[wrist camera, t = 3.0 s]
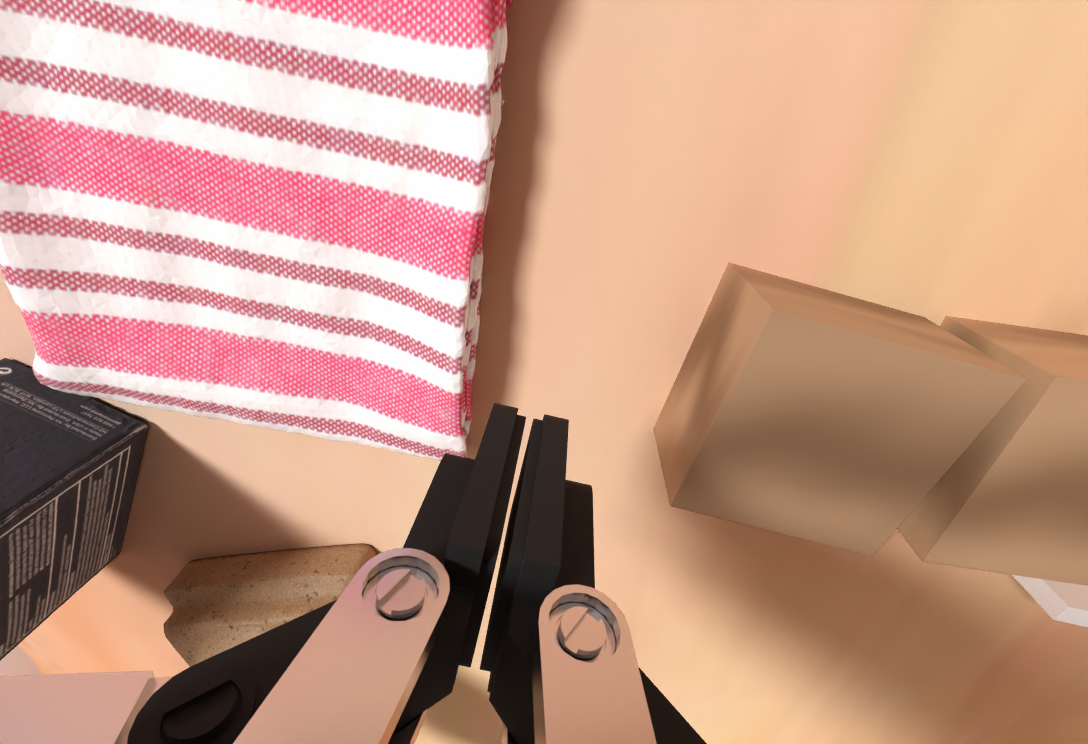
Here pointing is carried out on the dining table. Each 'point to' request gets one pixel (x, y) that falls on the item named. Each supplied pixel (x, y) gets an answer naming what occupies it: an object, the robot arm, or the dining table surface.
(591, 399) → the dining table surface
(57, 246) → the dish towel
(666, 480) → the tile
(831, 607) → the dining table surface
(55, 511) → the small box
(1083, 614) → the tray
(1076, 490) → the tile
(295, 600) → the candle holder
